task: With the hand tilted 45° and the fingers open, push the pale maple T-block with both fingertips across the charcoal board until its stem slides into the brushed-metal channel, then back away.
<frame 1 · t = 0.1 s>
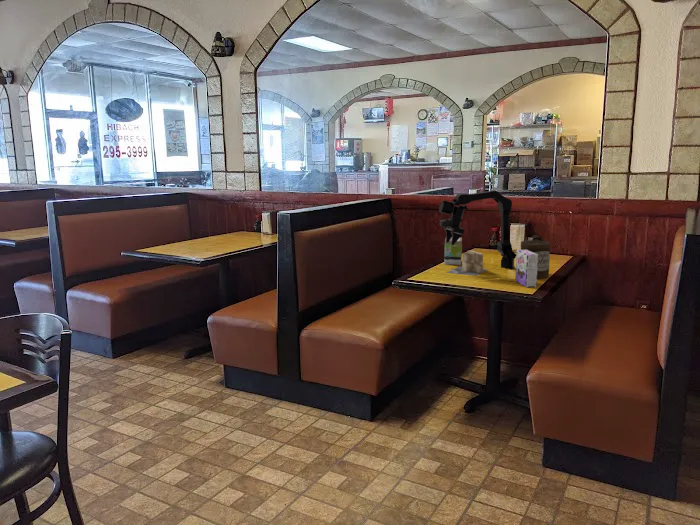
hand: (449, 243, 308), 15 cm above the table, tool pointing down, fingers open, 9 cm apart
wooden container: (533, 276, 295), on the table
tea box: (452, 263, 333), on the table
candy box: (525, 284, 277), on the table
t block: (471, 270, 308), point 1 cm above the table, touching push board
push board: (467, 271, 307), on the table
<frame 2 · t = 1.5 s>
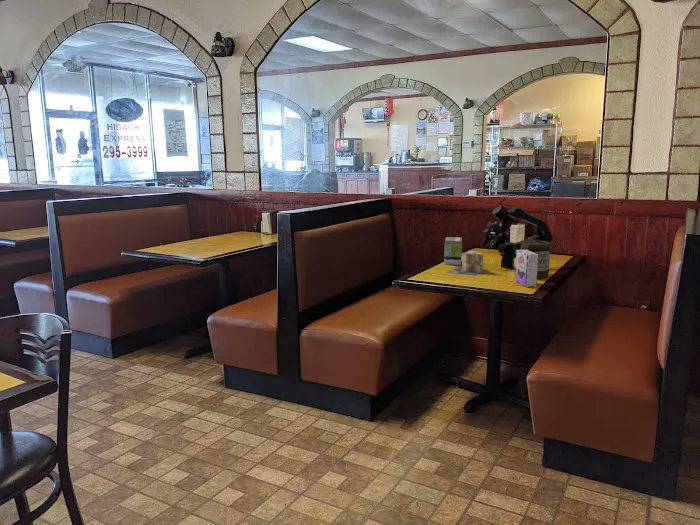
hand: (486, 246, 309), 13 cm above the table, tool tilted 45°, fingers open, 9 cm apart
nothing on the table moved.
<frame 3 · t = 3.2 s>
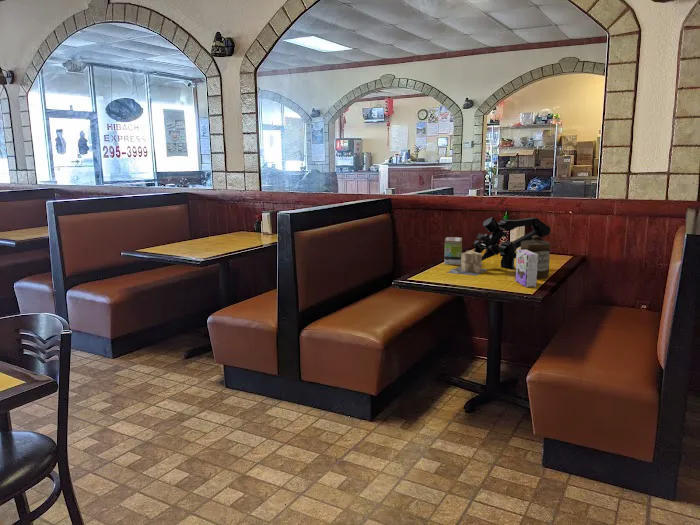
hand: (476, 258, 308), 7 cm above the table, tool tilted 45°, fingers open, 9 cm apart
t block: (470, 270, 308), point 1 cm above the table
everything else where it was.
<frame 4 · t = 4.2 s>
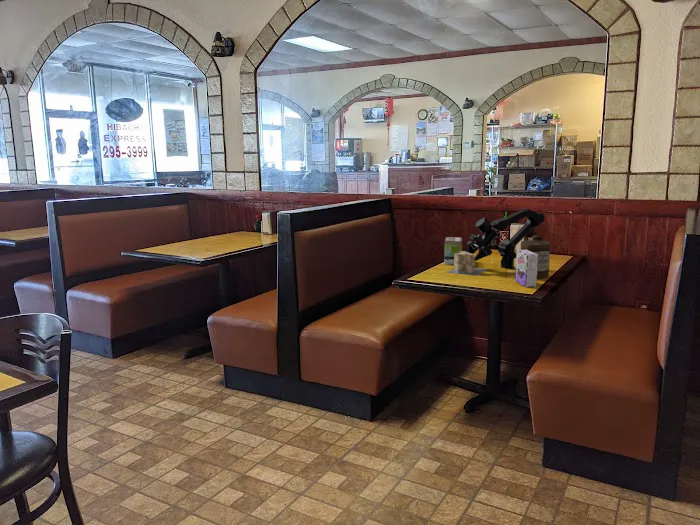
hand: (469, 259, 307), 7 cm above the table, tool tilted 45°
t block: (463, 271, 307), point 1 cm above the table, touching gripper, push board
everything else where it was.
when the fingers open (7 cm above the table, at t = 4.8 s): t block stays where it is, resting on push board.
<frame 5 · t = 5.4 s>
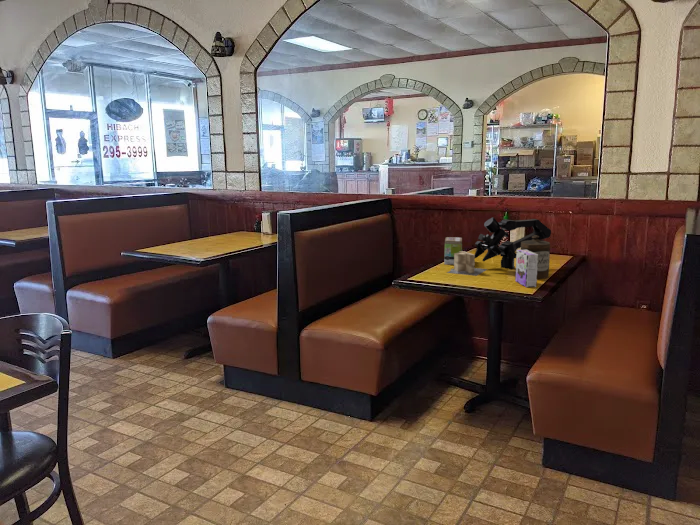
hand: (478, 259, 309), 6 cm above the table, tool tilted 45°, fingers open, 9 cm apart
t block: (463, 271, 307), point 1 cm above the table, touching push board
everything else where it was.
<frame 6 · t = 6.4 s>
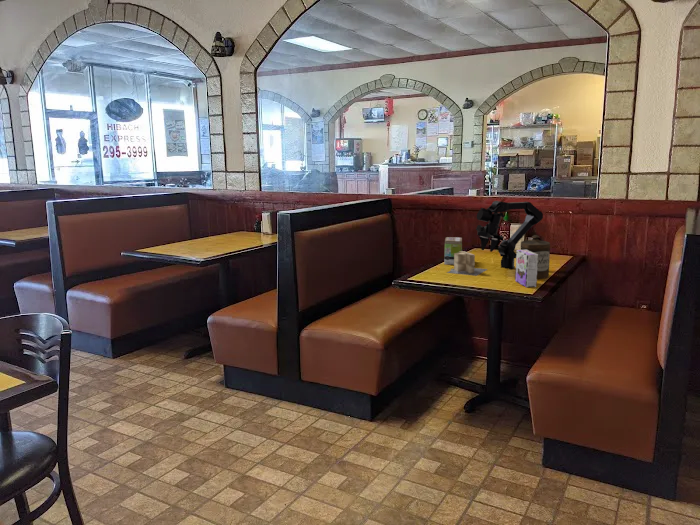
hand: (486, 250, 309), 11 cm above the table, tool pointing down, fingers open, 9 cm apart
nothing on the table moved.
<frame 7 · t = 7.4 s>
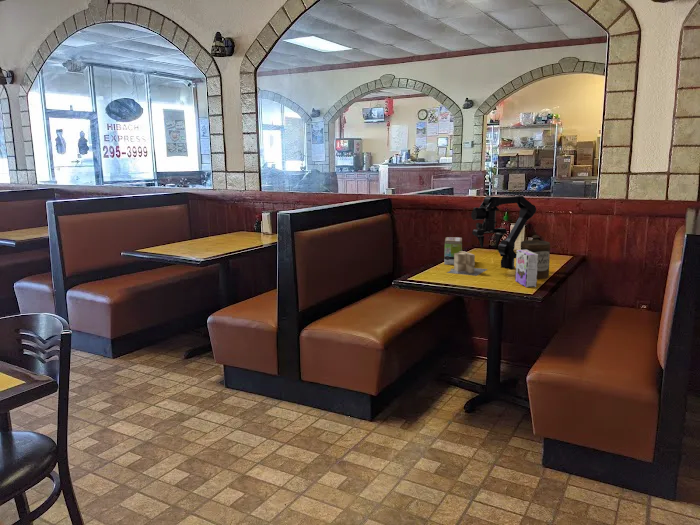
hand: (489, 247, 309), 13 cm above the table, tool pointing down, fingers open, 9 cm apart
nothing on the table moved.
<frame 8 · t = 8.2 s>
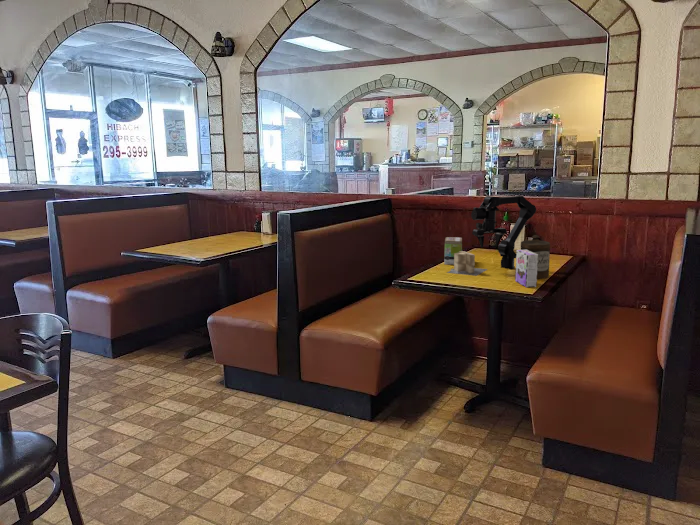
hand: (489, 247, 309), 13 cm above the table, tool pointing down, fingers open, 9 cm apart
nothing on the table moved.
at the end: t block 0.3 cm from the target spot, point 0.6 cm above the table; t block tilted 0°; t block moved 5.1 cm from its start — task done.
